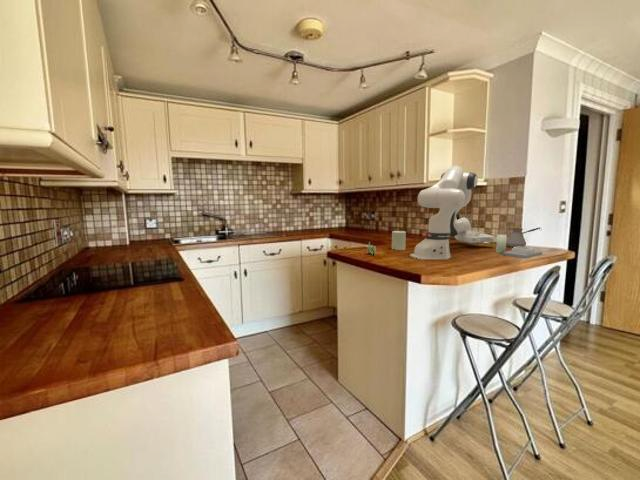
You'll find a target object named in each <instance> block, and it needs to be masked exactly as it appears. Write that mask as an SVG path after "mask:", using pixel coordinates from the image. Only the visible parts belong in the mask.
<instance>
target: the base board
mask: <svg viewBox="0 0 640 480" xmlns="http://www.w3.org/2000/svg"><path fill="white" fill-rule="evenodd" d="M540 254H541V255H543V251H539V250H535V247H527V246H524V247H520V246H518V247H513V248H512V247H511V250H509V251H505V252H503V253H502V256H507V257H513V258H515V257H516V258H520V259H527V258H532V257H537V256H539V255H540Z"/></svg>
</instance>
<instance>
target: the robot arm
mask: <svg viewBox="0 0 640 480" xmlns="http://www.w3.org/2000/svg"><path fill="white" fill-rule="evenodd" d="M477 184H478V175H477V174H476V173H474V172H467V171H466V172H465V171H464V169H463V168H462V167H461V166H459V165H452V166H451V167H449V168H448V169H447V170H446V171H444V172H443V173H442V174H441V176H440V179H439V181H437V182H436V183H435V184H434V185H431V186H430V187H427V188H425V189H422V190H420V191H419V193H418V195H417V203H418V205H419V206H420V207H423V208H428V209H439V211H438V213H436V214H433V215H432V216H431V217H430V218H429V221H428V231H427V233H426V232H422V237H425V238H424V239H423V240H422V241H420V242H418V243H417V244H416V245H415V247H414V250H413V253H410V255H409V256H410V257H411V258H414V259H416V258H417V259H416V260H422V261H423V260H429V261H430V260H434V261H435V260H437V261H439V260H440V261H441V260H447V261H448V260H449V259H451V258H452V255H451V252H450V237H453V238H455V239H456V240H457V241H459V242H461V243H466V244H470V245H477V244H481V243H493V242H495V241H496V240H495V236H494V235H491V234H487V233H485V232H478V231H473V224H472V221H471V220H470V219H469V218H468V217H465V216H463V217H461V218H459V219H457V214H458V213H459V211H460V210H461V209H462V208H464V207H465V206H467V205H468V204H469V203H470V201H471V199H472V190H474V189H475V188H476V187H477Z"/></svg>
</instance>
